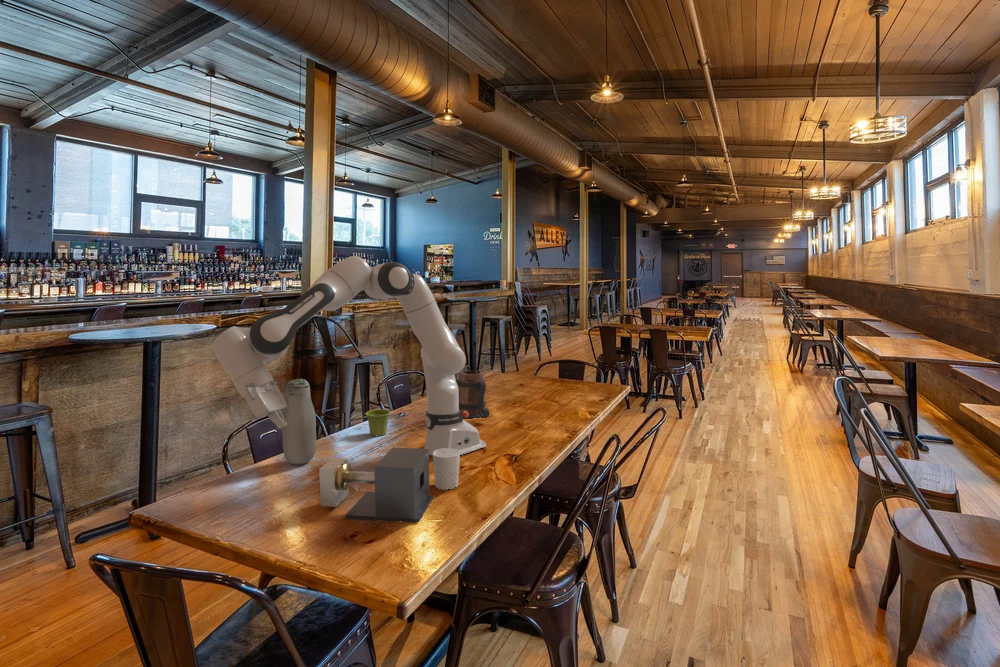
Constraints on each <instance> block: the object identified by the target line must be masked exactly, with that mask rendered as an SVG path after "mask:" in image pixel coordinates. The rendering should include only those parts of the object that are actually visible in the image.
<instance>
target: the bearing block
mask: <svg viewBox="0 0 1000 667" xmlns="http://www.w3.org/2000/svg"><path fill="white" fill-rule="evenodd" d="M373 468H374V471H373V472H374V475H375V484H374V491H366V492H365V493H364V494H363V495H362V496H361V497H360V498H359V499H358V500H357V502H356V503H354V505H353V506H352V507H351V508H350V509H349V510H348V511H347V513H346V514H345V515H344V516H345V517H344V519H346V520H359V519H362V521H376V520H385V521H384V522H394V521H402V522H401V523H411V522H419V521H420V522H421V520H420V519H422V518H423V517H424V515H425V513H426V511H427V510H426V509H429V508H428V507H429V506H430V505H429V504H431V503H432V501H433V499H434V495H433V494H431V493H430V455H429V449H424V448H418V447H417V448H415V447H414V448H413V447H392V448H391V449H390V450H388V452H386V454H385V455H384V456H383V457H382V458H381V459H380V460H378V462H377V463H376V464H375V465H374V466H373ZM423 514H424V515H423ZM420 522H419V523H420Z"/></svg>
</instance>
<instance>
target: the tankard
mask: <svg viewBox="0 0 1000 667" xmlns="http://www.w3.org/2000/svg"><path fill="white" fill-rule="evenodd" d="M484 379H485V378H484V375H483V371H482V370H461V371H460V372H459V373H458V379H457V380H456V383H457V386H458V389H459V410H461V411H466V412H468V413H469V416H468V417H467V418H465V417H463V419H473V418H480V417H481V418H487V417H488V416H489V415H490V410H489V408H488V407H486V405H487V404H486V400H485V399H486V398H485V395H486V389H487V388H486V385H487V384H486V382H485V380H484Z"/></svg>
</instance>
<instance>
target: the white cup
mask: <svg viewBox="0 0 1000 667" xmlns="http://www.w3.org/2000/svg"><path fill="white" fill-rule="evenodd" d="M460 457H461V456H460V451H459V450H457V449H453V448H442V449H438V450H435V451H434V452H433V456H432V466H433V475H434V476H433V477H434V487H435V488H436V489H437V488H438V489H437V490H440V489H441V491H449V490H448V489H451V490H453V488H454V489H456V488H457V487H458V486H459V477H460V462H461V461H460ZM455 487H456V488H455Z"/></svg>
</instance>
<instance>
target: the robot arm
mask: <svg viewBox="0 0 1000 667" xmlns="http://www.w3.org/2000/svg"><path fill="white" fill-rule="evenodd" d="M359 293H361V294H362V295H363V296H364V297H366V298H367V299H370V300H373V301H379V300H389V299H392V298H393V297H394V298H395V299H397V300H398V301H399V303H400V304H401V307H402V310H403V312H404V315H405V316H406V318H407V320H408V323H409V325H410V327H411V329H412V331H413V334H414V335H415V336H416V338H417V340H418V341H419V343H420V345H421V349H420V357H421V360H422V367H423V375H424V381H425V386H426V407H427V409H426V411H425V413H426V414H425V423H426V424H425V426H426V435H425V436H426V437H425V443H424V447H423V449H429V456H432V457H433V452H434V451H435V450H438V449H442V448H453V449H457V450H459V451H460V455H462V456H464V455H463V454H466V453H469V452H471V451H474V450H477V449H480V448H483V447H486V448H487V443H486V442H485V441H484V440H482V439H481V437H480V434H479V431H478V429H477V428H476V427H475V426H474V425H472V424H471V423H469V422H467V421H465V420H464V419H463V417H465V418H467V417H468V416H469V413H468V412H466V411H461V410H459V389H458V385H457V378H456V375H457V374H459V372H462V371H463V369H464V368H465V366H466V363H467V362H466V361H467V359H466V355H465V353H464V351H463V349H462V348H461V347H460V345H459V344H458V342H457V340H456V338H455V337H454V334H453V332H452V331H451V330H450V328H449V326H448V325H447V323H446V321H445V319H444V317H443V315H442V313H441V310H440V308H439V306H438V304H437V301H436V299H435V297H434V295H433V292H432V291H431V289H430V287H429V285H428V284H427V282H426V281H425V279H424V278H423V277H422V275H420V274H417V273H412V272H411V271H410V270H409V269H408V267H406V266H405V265H404V264H402V263H400V262H396V261H389V262H386V263H385V262H384V263H381V264H378V265H374V266H371V265H369V263H368V262H367V261H366V260H365V259H364V258H362V257H360V256H357V255H351V256H348V257H346V258H345V259H342V260H340V261H339V262H337V263H336V264H334V265H332V266H331V267H330V268H328V269H327V270H326V271H325V272H323V273H322V274H321V275H320V276H319V277H318V278H317V279H316V280H315V281H314V282H313V284H312V285H310V287H308V289H307V290H306V291H304V293H303V294H300V296H299V297H297V298H296V299H295V300H294V301H293V300H292V302H290V303H289V304H288V305H287V306H285V307H284V308H283V309H280V310H279V311H276V312H273V313H270V314H269V313H268V314H266V315H263V316H260V317H259V318H257V319H256V320H255V321H254V322H253V324H251V327H241V326H240V327H239V326H235V325H233V326H230V327H227V328H226V329H224V330H223V331H221V332H220V333H218V334H217V335H216V337H215V338H214V339H213V341H212V349H213V352H214V354H215V357H216V358H217V360H218V362H219V363H220V366H222V368H223V370H224V371H225V372H227V373H228V375H229V376H230V378H231V381H232V382H231V383H233V385H234V387H235V388H236V391H238V393H239V395H240V396H241V398H243V399H244V400H245V401H246V403H247V405H248V406H249V408H250V410H251V411H252V413H253V415H254V416H255V417H256V418H257V419H262V418H265V417H268V418H269V420H270V421H271V422H273V424H274V425H275V426H276V427H277V429H278V430H282V428H283V427H285V426H286V425H287V423H286V422H285V420H284V417H283V415H282V411H283V410H284V409H285V408H287V404H286V401H285V398H284V396H283V394H282V392H281V390H280V388H279V386H278V385H277V380H276V378H275V377H274V376H273V375H272V374H271V372H270V371H269V369H268V368H267V366H266V365H265V364H267V363H270V362H273V361H277V360H279V359H281V358H282V357H284V355H286V354H287V352H288V349H289V348H290V344H291V342H292V340H293V338H294V336H295V333H296V332H297V331H298V330H299V329H300V328H301V327H302V326H303V325H304V324H306V323H307V322H309V321H310V319H312V318H313V317H314V316H316V315H317V314H318V313H319V312H321V311H328V312H335V311H337V310H339V309H340V308H343V306H345V305H346V304H348V303H349V302H350V301H352V299H354V298H355V297H356V296H357V295H358V294H359ZM469 454H470V453H469ZM466 455H467V454H466Z"/></svg>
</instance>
